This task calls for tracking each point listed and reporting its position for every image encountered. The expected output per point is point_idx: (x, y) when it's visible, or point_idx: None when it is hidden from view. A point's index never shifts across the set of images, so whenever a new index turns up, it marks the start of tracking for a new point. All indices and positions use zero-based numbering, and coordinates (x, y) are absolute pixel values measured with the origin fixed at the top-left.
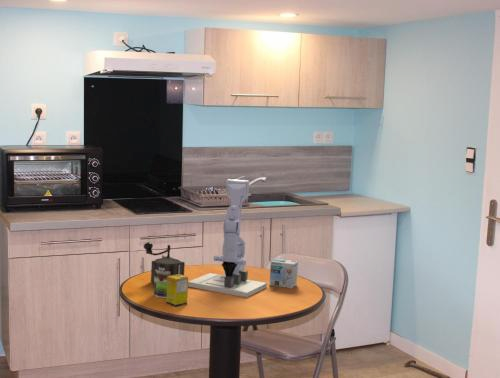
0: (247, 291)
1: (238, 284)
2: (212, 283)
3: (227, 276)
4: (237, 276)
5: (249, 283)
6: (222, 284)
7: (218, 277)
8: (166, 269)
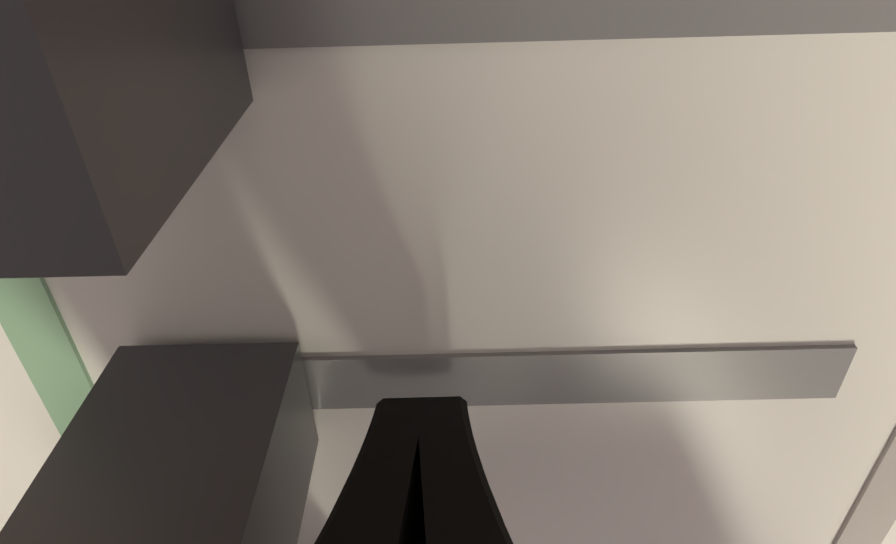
0: None
1: None
2: (773, 64)
3: (19, 178)
4: (33, 523)
5: None
6: (456, 154)
7: (779, 532)
8: None
